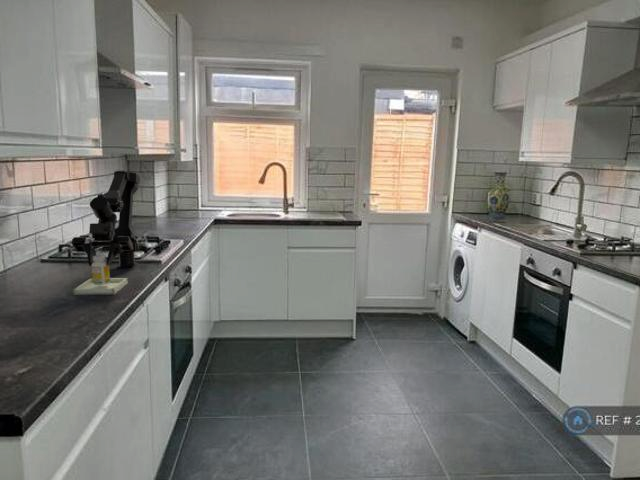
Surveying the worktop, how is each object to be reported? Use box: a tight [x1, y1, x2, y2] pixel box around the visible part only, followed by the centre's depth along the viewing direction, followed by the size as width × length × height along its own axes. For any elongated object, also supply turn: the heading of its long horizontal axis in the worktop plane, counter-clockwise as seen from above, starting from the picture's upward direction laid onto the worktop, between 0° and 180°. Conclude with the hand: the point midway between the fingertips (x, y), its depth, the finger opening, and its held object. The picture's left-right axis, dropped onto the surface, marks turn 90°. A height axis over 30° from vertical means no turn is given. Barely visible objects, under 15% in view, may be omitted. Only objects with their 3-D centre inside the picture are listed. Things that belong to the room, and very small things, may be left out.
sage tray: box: [73, 277, 129, 296], centre depth 164 cm, size 13×13×2 cm
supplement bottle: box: [90, 254, 111, 286], centre depth 163 cm, size 5×5×10 cm
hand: (98, 265), depth 161 cm, fingers closed on supplement bottle, 5 cm apart
